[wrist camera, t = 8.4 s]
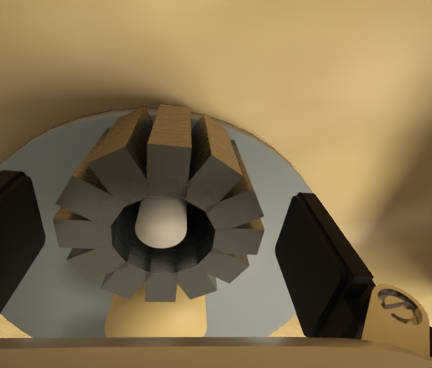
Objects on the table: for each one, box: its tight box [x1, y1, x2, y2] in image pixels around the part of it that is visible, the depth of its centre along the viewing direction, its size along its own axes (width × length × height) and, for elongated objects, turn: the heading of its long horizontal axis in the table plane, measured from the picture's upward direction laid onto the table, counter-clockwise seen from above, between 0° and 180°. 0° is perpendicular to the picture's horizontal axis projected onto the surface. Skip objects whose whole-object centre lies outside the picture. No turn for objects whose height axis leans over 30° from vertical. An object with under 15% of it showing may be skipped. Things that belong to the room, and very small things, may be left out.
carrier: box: [0, 108, 312, 338], centre depth 15 cm, size 20×20×4 cm
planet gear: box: [53, 104, 265, 302], centre depth 11 cm, size 7×7×4 cm
